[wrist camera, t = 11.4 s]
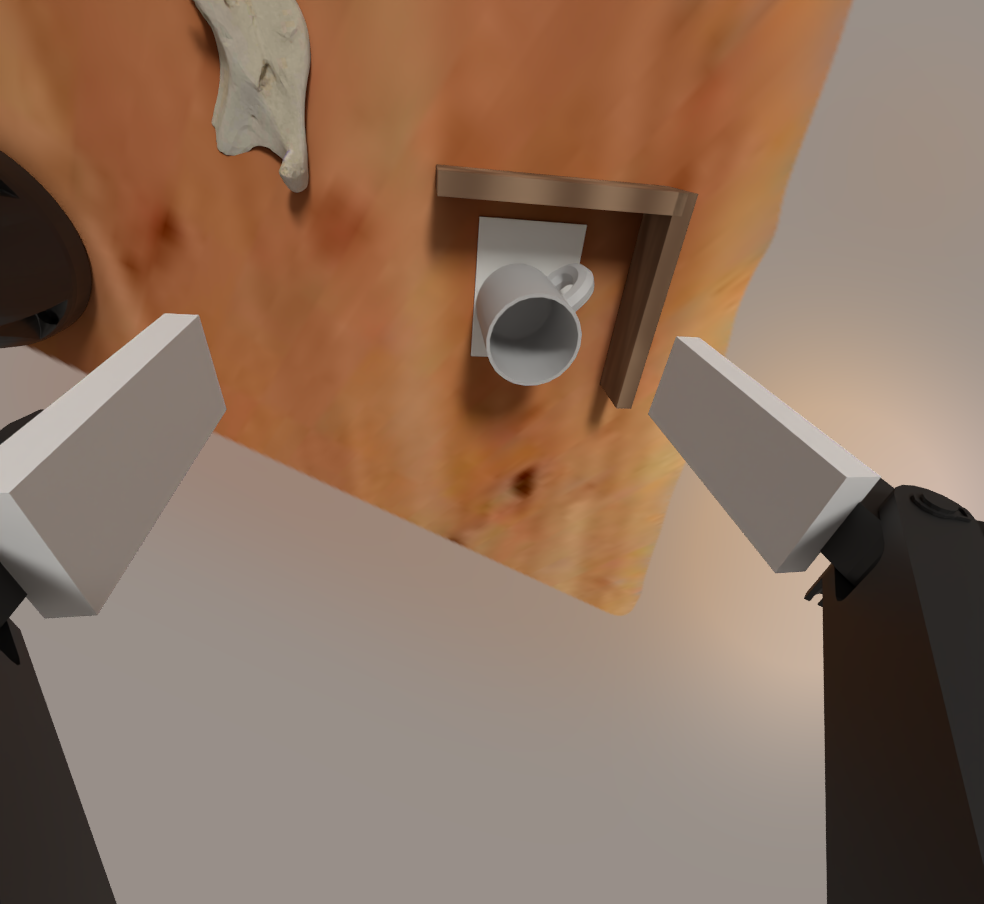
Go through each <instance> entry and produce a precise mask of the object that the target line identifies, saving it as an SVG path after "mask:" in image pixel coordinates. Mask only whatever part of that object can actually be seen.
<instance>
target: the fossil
mask: <svg viewBox="0 0 984 904" xmlns="http://www.w3.org/2000/svg"><path fill="white" fill-rule="evenodd" d="M193 1H195V5H196V7H197V8H198V9H199V11H200V12H201V14H202V15H203V17H204V18H205V19H206V21H207V22H208V23H209V25H210V26H211V28H212V31H213V33H214V36H215V40H216V43H217V48H218V52H219V59H220V83H219V92H218V97H217V101H216V105H215V109H214V114H213V118H212V125H213V126H214V127H215V129H216V139H217V147H218V149H219V151H220V152H223V153H224V154H225V155H237V154H241V153H244V152H249V151H250V150H251V149H252V148H253V147H255V146H264V147H268V148H270V149H271V150H272V151H273V152H274V153H276V154H277V155H278V156H280V157H281V158H282V159H283V161H282V165H281V167H280V170H279V174H280V176H281V178H282V179H283V181H284V183H285V184H286V185H287V187H288V188H289V189H290V190H291V191H293V192H297V193H298V192H301V191H303V190H304V189H306V188H307V185H308V180H309V174H308V154H307V144H306V134H305V96H306V87H307V80H308V75H309V70H310V61H311V54H310V42H309V34H308V29H307V26H306V22H305V19H304V17H303V14H302V11H301V10H300V8H299V5H298V3H297V2H296V0H193Z"/></svg>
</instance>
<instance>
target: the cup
mask: <svg viewBox="0 0 984 904" xmlns="http://www.w3.org/2000/svg"><path fill="white" fill-rule="evenodd" d="M567 285H573V286H572V288H571V289H570V290H569V291H568V292H566V293H565V294H564V295H563V296H562V295H561V294H560V292H559V291H560V290H561V289H562V288H564V287H565V286H567ZM593 290H594V277H593V274H592V272H591V271H590V270H589V269H588V268H586V267H585V266H583V265H581V264H578V263H573V264H568V265H566V266H563V267H561V268H559V269H557V270H555V271H554V272H552V273H551V274H550V275H548V276H546V275H544V274H543V273H542V272H541V271H540V270H538V269H536V268H535V267H533V266H530V265H526V264H509V265H506V266H503V267H500V268H499V269H497V270H496V271H494V272H493V273H491V274H490V275H489V277H488V278H487V279H486V280H485V281H484V282H483V284H482V286H481V288H480V290H479V293H478V297H477V301H476V308H477V318H478V321H479V325H480V329H481V332H482V336H483V340H484V344H485V347H486V351H487V354H488V358H489V361H490V363H491V365H492V366H493V368H494V369H495V371H496V372H497V373H498V374H499V375H500V376H502V377H503V378H504V379H506V380H508V381H510V382H512V383H514V384H519V385H524V386H531V385H540V384H543V383H546V382H549V381H551V380H553V379H555V378H556V377H558V376H560V375H561V374H562V373H563V372H564V371H565V370H566V369H568V368H569V366H570V365H571V364H572V362H573V361H574V359H575V358H576V356H577V353H578V350H579V348H580V344H581V336H582V333H581V326H580V322H579V319H578V317H577V315H576V313H575V312H576V311H577V310H578V309H579V308H581V307H582V306H583V305H584V304H585V303H586V302H587V301H588V299H589V298H590V296H591V295H592V293H593Z"/></svg>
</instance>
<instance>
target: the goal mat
mask: <svg viewBox="0 0 984 904" xmlns="http://www.w3.org/2000/svg"><path fill="white" fill-rule="evenodd" d="M586 228H587V225H583V224H571V223H558V222H545V221H532V220H519V219H507V218H494V217H481V216H480V217H479V233H478V249H477V265H476V281H475V297H474V313H473V328H472V344H471V356H483V357H488V354H487V351H486V347H485V344H484V340H483V336H482V332H481V329H480V325H479V321H478V318H477V308H476V301H477V297H478V293H479V290H480V288H481V286H482V284H483V282H484V281H485V280H486V279H487V278H488V277H489V275H490V274H491V273H493V272H494V271H496V270H497V269H499V268H500V267H503V266H506V265H509V264H526V265H530V266H533V267H535V268H536V269H538V270H540V271H541V272H542V273H543V274H544V275H546V276H548V275H550V274H551V273H552V272H554V271H555V270H557V269H559V268H561V267H563V266H566V265H568V264H573V263H578V264H580V259H581V254H582V248H583V243H584V238H585V233H586ZM572 286H573V285H567V286H565V287H564V288H562V289H561V290H560V291H559V292H560V294H561V295H562V296H563V295H564V294H565V293H566V292H568V291H569V290H570V289H571V288H572Z"/></svg>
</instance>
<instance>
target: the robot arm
mask: <svg viewBox="0 0 984 904" xmlns="http://www.w3.org/2000/svg"><path fill="white" fill-rule="evenodd" d="M90 293H91V272H90V266H89V261H88V258H87V255H86V252H85V249H84V247H83V244H82V242H81V240H80V238H79V236H78V234H77V232H76V230H75V228H74V227H73V225H72V223H71V222H70V220H69V219H68V217H67V216H66V214H65V213H64V211H63V210H62V209H61V207H60V206H59V205H58V203H57V202H56V201H55V200H54V199H53V197H52V196H51V195H50V194H49V193H48V192H47V191H46V190H45V189H44V187H43V186H42V185H41V184H40V183H39V182H38V181H37V180H36V179H35V178H34V177H32V176H31V175H30V174H29V173H28V172H27V171H26V170H25V169H23V168H22V167H21V166H20V165H19V164H17V163H16V162H15V161H14V160H12V159H11V158H10V157H8V156H7V155H6V154H4V153H3V152H2V151H0V348H6V347H16V346H23V345H28V344H32V343H36V342H39V341H42V340H44V339H47V338H49V337H51V336H53V335H54V334H56V333H58V332H60V331H61V330H63V329H65V328H67V327H68V326H70V325H71V324H73V323H74V322H75V321H76V320H77V319H78V318H79V317H80V316H81V314H82V313H83V312H84V310H85V308H86V306H87V304H88V301H89V297H90ZM225 411H226V406H225V403H224V399H223V396H222V392H221V389H220V386H219V382H218V379H217V375H216V372H215V369H214V365H213V362H212V358H211V355H210V352H209V348H208V345H207V341H206V338H205V334H204V331H203V328H202V324H201V321H200V317H199V315H188V314H163V315H162V316H161V317H160V318H158V319H157V320H156V321H155V322H153V323H152V324H151V325H150V326H148V327H147V328H146V329H145V330H143V331H142V332H141V333H140V334H138V335H137V336H136V337H135V338H133V339H132V340H131V341H130V342H128V343H127V344H126V345H125V346H123V347H122V348H121V349H120V350H118V351H117V352H116V353H115V354H113V355H112V356H111V357H110V358H108V359H107V360H106V361H105V362H103V363H102V364H101V365H100V366H98V367H97V368H96V369H95V370H93V371H92V372H91V373H90V374H88V375H87V376H86V377H85V378H83V379H82V380H81V381H80V382H78V383H77V384H76V385H75V386H73V387H72V388H71V389H70V390H68V391H67V392H66V393H65V394H63V395H62V396H61V397H60V398H58V399H57V400H56V401H55V402H53V403H52V404H51V405H50V406H48V407H47V408H46V409H45V410H38V411H36V412H34V413H32V414H30V415H28V416H26V417H23V418H21V419H19V420H16V421H14V422H12V423H10V424H8V425H7V426H6V427H4V428H3V429H2V430H0V904H116V901H115V898H114V895H113V892H112V889H111V887H110V884H109V881H108V878H107V875H106V872H105V870H104V867H103V864H102V861H101V858H100V855H99V852H98V850H97V847H96V844H95V841H94V838H93V835H92V832H91V830H90V827H89V824H88V821H87V818H86V815H85V813H84V810H83V807H82V804H81V801H80V798H79V795H78V793H77V790H76V787H75V784H74V781H73V779H72V776H71V773H70V770H69V767H68V764H67V762H66V759H65V756H64V753H63V750H62V747H61V744H60V741H59V739H58V736H57V733H56V730H55V727H54V725H53V722H52V719H51V716H50V713H49V710H48V708H47V704H46V702H45V699H44V696H43V693H42V690H41V687H40V685H39V682H38V679H37V676H36V673H35V670H34V668H33V665H32V662H31V659H30V656H29V653H28V650H27V648H26V645H25V642H24V639H23V636H22V634H21V630H20V629H19V628H18V627H17V626H16V625H15V624H14V623H13V622H12V620H10V618H9V617H10V616H11V614H12V613H13V612H14V611H15V609H16V608H17V607H18V606H19V604H20V603H21V602H22V601H23V599H24V598H25V597H27V598H28V600H29V601H30V602H31V603H32V604H33V605H34V607H35V608H36V609H37V610H38V611H39V613H40V614H41V615H42V616H43V617H44V618H59V617H74V616H92V615H98V613H99V612H100V610H101V609H102V607H103V605H104V604H105V602H106V601H107V599H108V597H109V596H110V594H111V593H112V591H113V589H114V588H115V586H116V584H117V583H118V581H119V580H120V578H121V577H122V575H123V574H124V572H125V570H126V569H127V567H128V566H129V564H130V562H131V561H132V559H133V558H134V556H135V554H136V553H137V551H138V550H139V548H140V546H141V545H142V543H143V542H144V540H145V538H146V537H147V535H148V534H149V532H150V531H151V529H152V527H153V526H154V524H155V523H156V521H157V519H158V518H159V516H160V515H161V513H162V512H163V510H164V508H165V506H166V505H167V504H168V502H169V500H170V499H171V497H172V496H173V494H174V492H175V491H176V489H177V487H178V486H179V484H180V483H181V481H182V480H183V478H184V476H185V475H186V473H187V472H188V470H189V468H190V467H191V465H192V464H193V462H194V460H195V459H196V457H197V456H198V454H199V453H200V451H201V449H202V448H203V446H204V445H205V443H206V441H207V440H208V438H209V437H210V435H211V434H212V432H213V430H214V429H215V427H216V426H217V424H218V422H219V421H220V419H221V418H222V416H223V414H224V413H225ZM648 415H649V416H650V417H651V418H652V420H653V421H654V422H655V423H656V425H657V426H658V427H659V428H660V430H661V431H662V432H663V433H664V435H665V436H666V437H667V438H668V440H669V441H670V442H671V443H672V445H673V446H674V447H675V448H676V450H677V451H678V452H679V453H680V455H681V456H682V457H683V458H684V460H685V461H686V462H687V463H688V465H689V466H690V467H691V468H692V470H693V471H694V472H695V473H696V475H697V476H698V477H699V478H700V479H701V481H702V482H703V483H704V485H705V486H706V487H707V488H708V490H709V491H710V492H711V493H712V495H713V496H714V497H715V498H716V500H717V501H718V502H719V503H720V504H721V506H722V507H723V508H724V510H725V511H726V512H727V513H728V515H729V516H730V517H731V518H732V520H733V521H734V522H735V523H736V525H737V526H738V527H739V528H740V530H741V531H742V532H743V533H744V535H745V536H746V537H747V538H748V540H749V541H750V542H751V543H752V544H753V546H754V547H755V548H756V550H757V551H758V552H759V553H760V554H761V556H762V557H763V558H764V560H765V561H766V562H767V563H768V564H769V566H770V567H771V568H772V570H773V571H774V572H775V573H786V572H802V571H806V570H807V568H808V567H809V566H810V564H811V563H812V562H813V561H814V560H815V558H816V557H817V556H818V555H819V553H820V552H821V553H822V554H823V555H824V556H825V557H826V558H827V559H828V560H829V561H830V562H831V564H830V565H829V567H828V568H827V569H826V570H825V571H824V573H823V574H822V575H821V576H820V577H819V579H818V580H817V581H816V582H815V583H814V584H813V586H812V587H811V588H810V589H809V590H808V591H807V593H806V595H805V598H804V599H806V600H808V601H810V600H811V599H812V598H813V596H814V595H816V594H819V593H820V594H823V598H822V600H821V601H820V602H819V603H818V605H819V606H821V607H823V657H824V722H825V723H824V725H825V785H826V786H825V790H826V791H825V792H826V859H827V904H984V522H982V521H977V520H975V519H974V517H973V516H972V515H971V514H970V512H969V511H968V510H967V509H965V508H963V507H962V506H960V505H959V504H957V503H956V502H954V501H952V500H950V499H948V498H947V497H945V496H943V495H940V494H938V493H936V492H933V491H931V490H928V489H924V488H921V487H917V486H911V485H901V486H898V487H896V488H895V489H894V488H893V487H892V486H890V485H889V484H888V483H887V482H885V481H884V480H883V479H881V476H880V475H878V474H877V473H876V472H874V471H873V470H871V469H870V468H869V467H868V466H866V465H865V464H864V463H862V462H861V461H860V460H859V459H857V458H856V457H855V456H853V455H852V454H851V453H850V452H848V451H847V450H846V449H844V448H843V447H842V446H840V445H839V444H838V443H836V442H835V441H834V440H832V439H831V438H830V437H829V436H827V435H826V434H825V433H823V432H822V431H821V430H819V429H818V428H817V427H815V426H814V425H813V424H812V423H810V422H809V421H808V420H806V419H805V418H803V417H802V416H801V415H800V414H798V413H797V412H796V411H795V410H793V409H792V408H791V407H789V406H788V405H787V404H785V403H784V402H783V401H781V400H780V399H779V398H778V397H776V396H775V395H774V394H772V393H771V392H770V391H768V390H767V389H766V388H764V387H763V386H762V385H760V384H759V383H758V382H757V381H755V380H754V379H752V378H751V377H750V376H749V375H747V374H746V373H745V372H743V371H742V370H741V369H740V368H738V367H737V366H736V365H734V364H733V363H732V362H730V361H729V360H728V359H727V358H725V357H724V356H723V355H721V354H720V353H719V352H717V351H716V350H715V349H713V348H712V347H711V346H710V345H708V344H707V343H706V342H704V341H703V340H702V339H700V338H698V337H676V339H675V342H674V344H673V347H672V350H671V353H670V355H669V358H668V361H667V364H666V366H665V369H664V372H663V375H662V377H661V380H660V383H659V386H658V388H657V391H656V394H655V397H654V399H653V402H652V405H651V408H650V410H649V413H648Z"/></svg>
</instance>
